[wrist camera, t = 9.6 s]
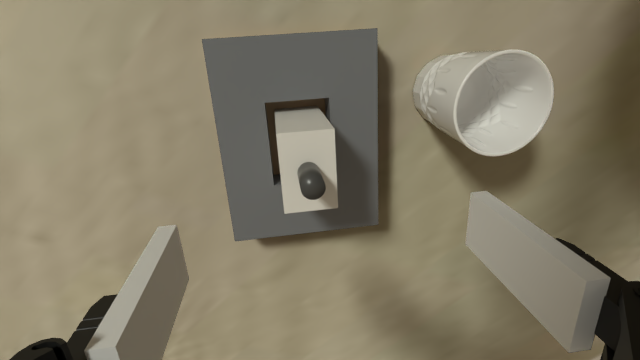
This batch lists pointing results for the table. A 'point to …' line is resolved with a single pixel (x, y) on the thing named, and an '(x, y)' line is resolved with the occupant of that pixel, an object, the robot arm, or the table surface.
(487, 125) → the white cup
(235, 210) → the socket box
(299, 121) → the plug
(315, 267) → the table surface
